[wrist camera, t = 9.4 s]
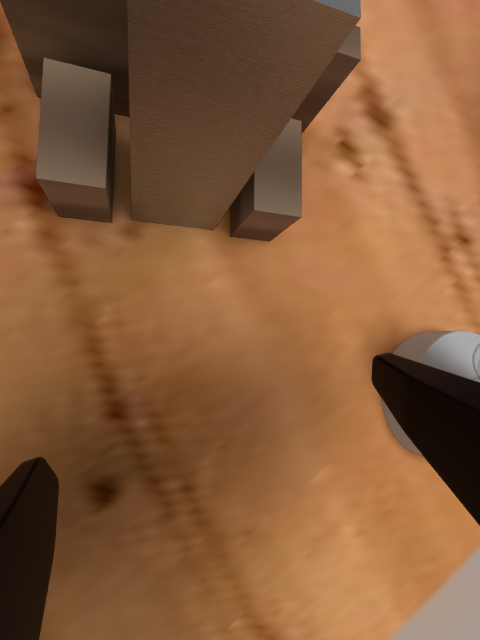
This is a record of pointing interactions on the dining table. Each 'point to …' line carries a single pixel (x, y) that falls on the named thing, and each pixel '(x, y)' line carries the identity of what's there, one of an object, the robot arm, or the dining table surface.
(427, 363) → the wall hook
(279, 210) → the bench
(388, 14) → the dining table surface
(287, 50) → the grey square pillar
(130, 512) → the dining table surface
